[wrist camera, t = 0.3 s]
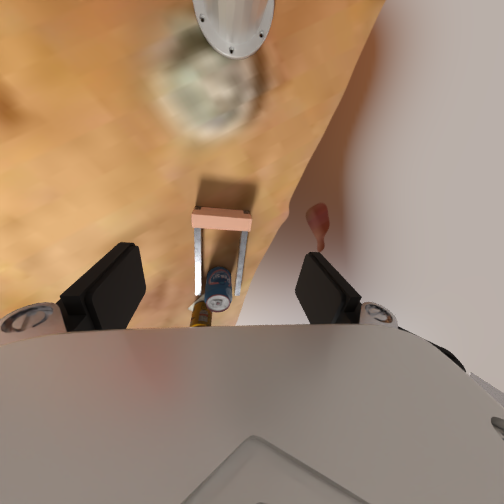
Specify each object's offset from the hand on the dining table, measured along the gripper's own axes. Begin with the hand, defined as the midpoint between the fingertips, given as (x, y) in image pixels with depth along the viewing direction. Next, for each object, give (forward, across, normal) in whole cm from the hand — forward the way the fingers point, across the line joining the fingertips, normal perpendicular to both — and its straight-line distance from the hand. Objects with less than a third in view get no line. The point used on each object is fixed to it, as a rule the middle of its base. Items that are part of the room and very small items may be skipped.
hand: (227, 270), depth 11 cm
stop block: (+36, 0, +8) cm, 37 cm away
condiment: (+37, +4, +40) cm, 54 cm away
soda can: (+37, 0, +27) cm, 45 cm away
